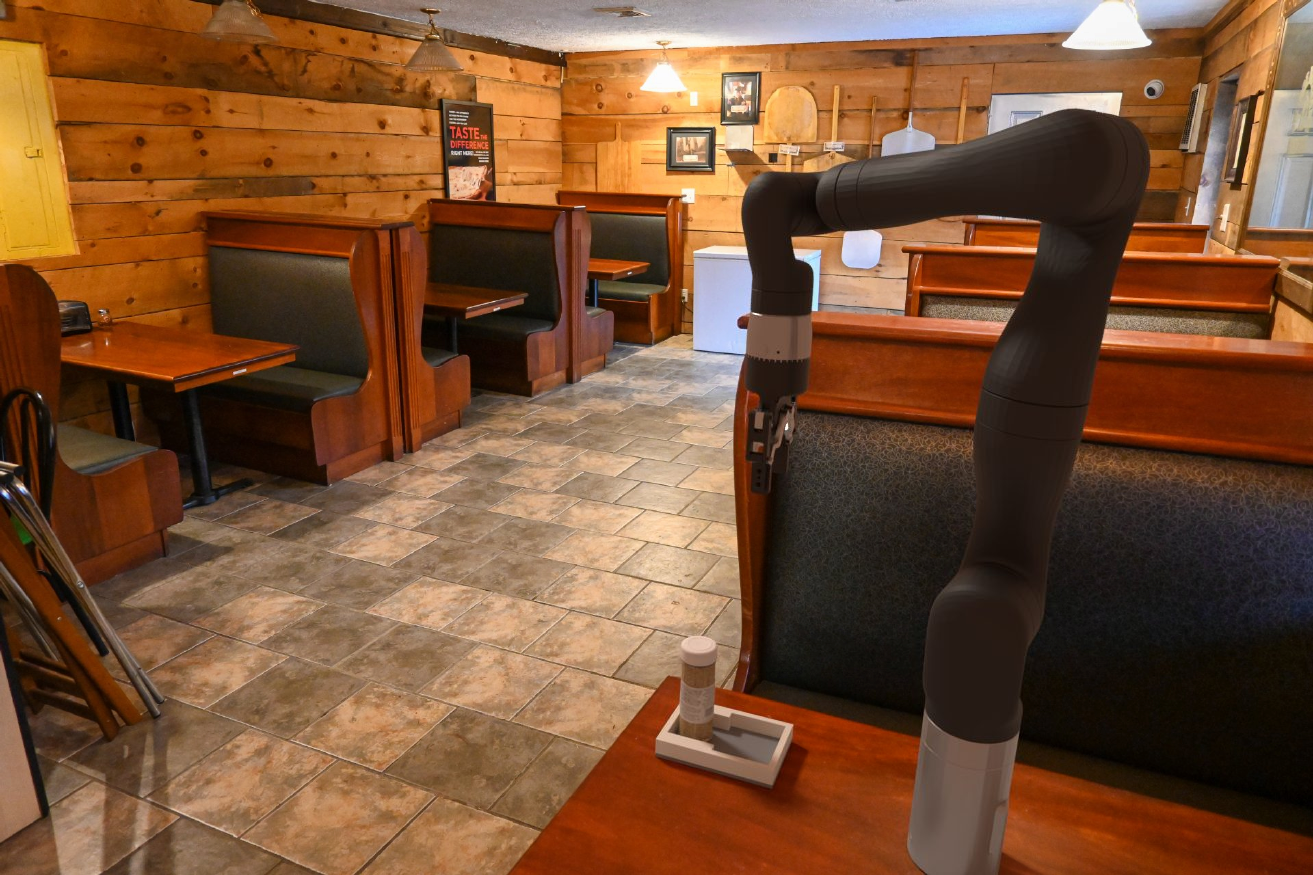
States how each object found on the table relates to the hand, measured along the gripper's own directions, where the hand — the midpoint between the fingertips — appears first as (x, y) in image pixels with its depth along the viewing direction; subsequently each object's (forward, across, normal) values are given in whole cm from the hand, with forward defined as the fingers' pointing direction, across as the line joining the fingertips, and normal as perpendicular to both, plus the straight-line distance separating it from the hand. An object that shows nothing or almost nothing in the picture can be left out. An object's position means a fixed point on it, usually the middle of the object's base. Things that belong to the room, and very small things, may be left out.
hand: (769, 482), depth 105 cm
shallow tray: (+34, -6, +2) cm, 35 cm away
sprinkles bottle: (+34, -6, +6) cm, 35 cm away
